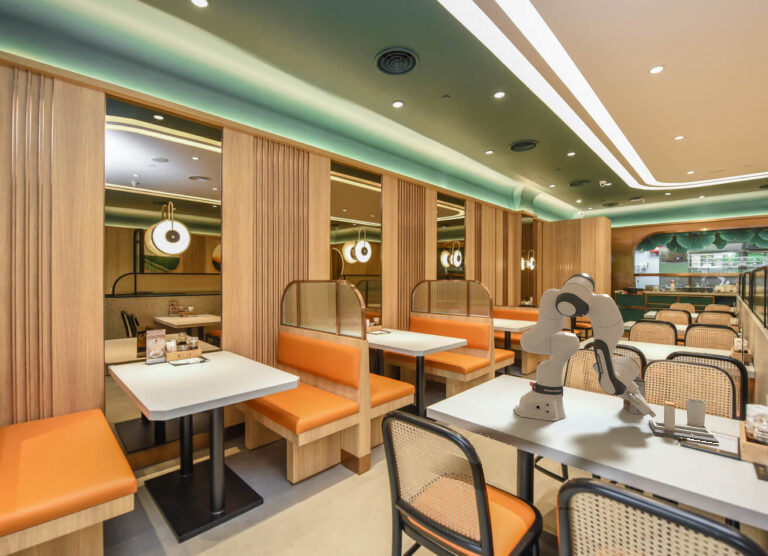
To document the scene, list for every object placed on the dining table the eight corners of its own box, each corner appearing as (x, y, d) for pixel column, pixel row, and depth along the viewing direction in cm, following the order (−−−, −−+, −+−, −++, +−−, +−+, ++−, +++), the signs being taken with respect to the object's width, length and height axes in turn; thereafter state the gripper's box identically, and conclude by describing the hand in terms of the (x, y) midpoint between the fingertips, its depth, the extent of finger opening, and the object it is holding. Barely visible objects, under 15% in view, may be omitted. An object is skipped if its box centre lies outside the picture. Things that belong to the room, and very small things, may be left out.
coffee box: (622, 407, 185) (622, 374, 185) (636, 408, 184) (637, 375, 184) (630, 413, 176) (631, 379, 176) (646, 414, 175) (646, 380, 175)
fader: (665, 428, 155) (665, 403, 155) (663, 425, 158) (664, 401, 158) (674, 430, 153) (674, 404, 153) (672, 427, 156) (672, 402, 156)
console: (655, 435, 152) (655, 429, 152) (648, 423, 164) (648, 417, 164) (718, 445, 143) (718, 438, 143) (706, 432, 155) (706, 426, 155)
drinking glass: (689, 425, 162) (689, 402, 162) (683, 420, 169) (683, 398, 169) (708, 427, 160) (708, 404, 160) (701, 422, 166) (701, 399, 166)
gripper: (636, 391, 152) (666, 419, 147) (629, 379, 170) (655, 404, 166) (623, 400, 154) (652, 428, 149) (618, 387, 172) (643, 412, 168)
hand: (654, 415), depth 158 cm, fingers closed
